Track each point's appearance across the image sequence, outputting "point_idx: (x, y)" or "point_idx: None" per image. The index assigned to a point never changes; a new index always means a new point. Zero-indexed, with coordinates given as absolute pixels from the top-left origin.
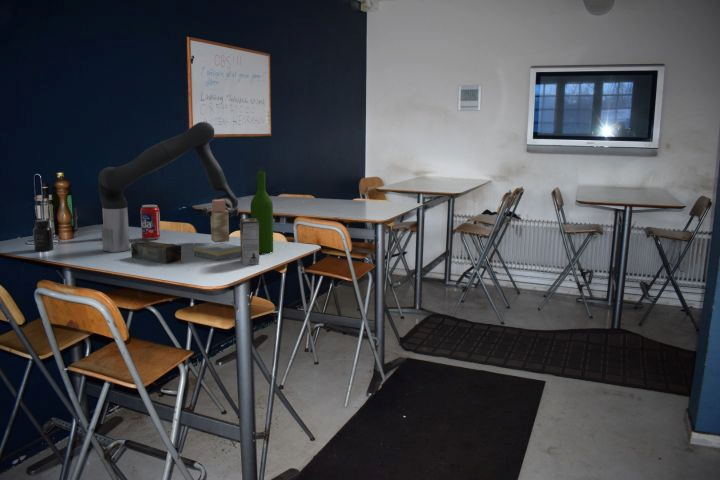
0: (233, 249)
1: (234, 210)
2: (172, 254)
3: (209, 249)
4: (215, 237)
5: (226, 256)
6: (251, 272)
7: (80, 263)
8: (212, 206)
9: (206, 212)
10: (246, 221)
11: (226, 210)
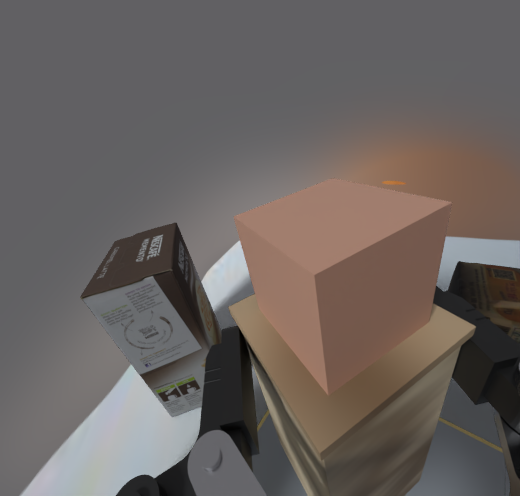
0: (259, 432)
1: (162, 487)
2: None
3: None
4: None
5: None
6: (202, 282)
7: None
8: (429, 284)
9: (465, 303)
10: (156, 233)
11: (255, 331)
